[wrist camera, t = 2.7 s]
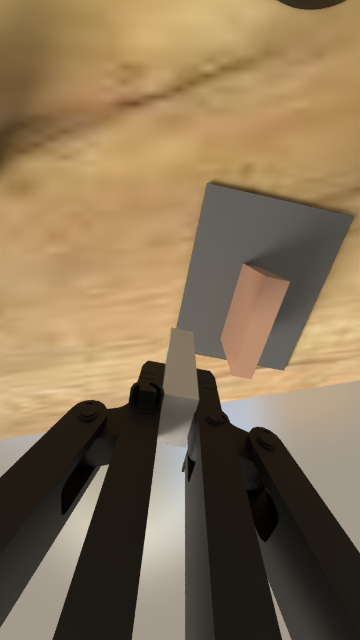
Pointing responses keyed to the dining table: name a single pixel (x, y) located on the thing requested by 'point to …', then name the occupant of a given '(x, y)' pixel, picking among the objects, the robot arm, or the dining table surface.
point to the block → (251, 318)
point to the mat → (258, 250)
